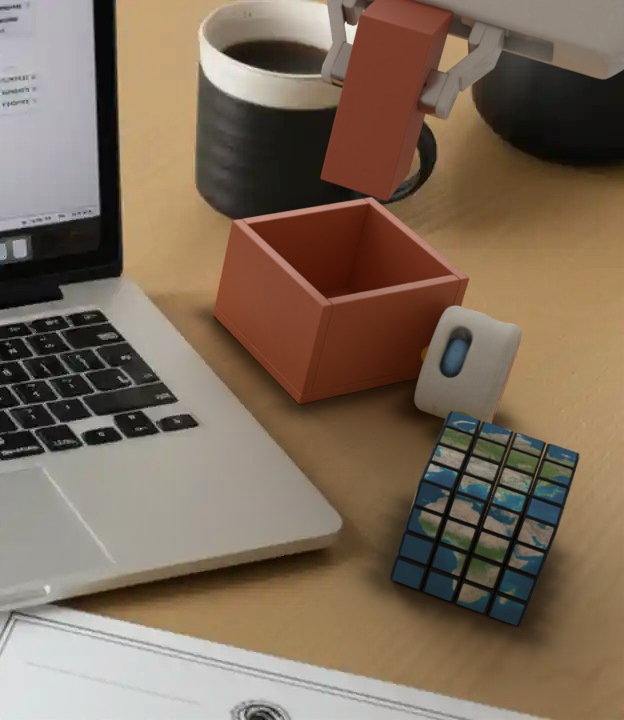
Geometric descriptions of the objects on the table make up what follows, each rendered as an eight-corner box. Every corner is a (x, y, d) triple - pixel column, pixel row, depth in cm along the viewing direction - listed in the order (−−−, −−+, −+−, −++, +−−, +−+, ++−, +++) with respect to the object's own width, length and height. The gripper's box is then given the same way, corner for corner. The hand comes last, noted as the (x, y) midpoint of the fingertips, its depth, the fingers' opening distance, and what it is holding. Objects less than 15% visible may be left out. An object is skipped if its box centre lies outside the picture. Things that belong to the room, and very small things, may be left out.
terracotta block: (343, 152, 87) (383, -9, 82) (408, 174, 86) (454, 11, 80) (319, 179, 84) (359, 14, 79) (387, 201, 83) (432, 35, 78)
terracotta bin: (348, 288, 96) (372, 196, 92) (440, 373, 89) (470, 278, 86) (212, 314, 92) (231, 219, 89) (299, 404, 86) (323, 306, 82)
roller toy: (393, 427, 85) (420, 334, 82) (423, 367, 90) (450, 277, 86) (478, 457, 84) (509, 363, 80) (504, 394, 88) (535, 303, 85)
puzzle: (519, 629, 73) (558, 526, 70) (388, 580, 75) (420, 478, 72) (543, 551, 78) (581, 451, 75) (418, 507, 80) (450, 408, 76)
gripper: (289, -230, 84) (180, 10, 82) (702, -130, 77) (590, 135, 75) (302, -164, 90) (200, 62, 88) (686, -64, 83) (582, 183, 81)
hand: (383, 97), depth 82 cm, fingers closed on terracotta block, 3 cm apart
